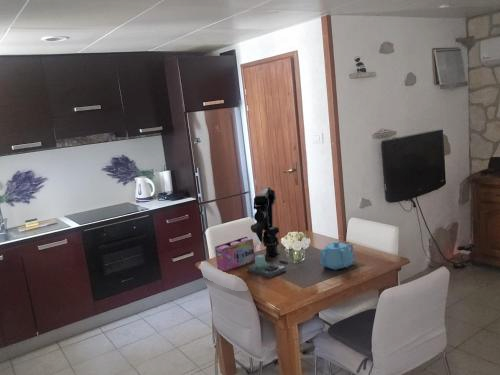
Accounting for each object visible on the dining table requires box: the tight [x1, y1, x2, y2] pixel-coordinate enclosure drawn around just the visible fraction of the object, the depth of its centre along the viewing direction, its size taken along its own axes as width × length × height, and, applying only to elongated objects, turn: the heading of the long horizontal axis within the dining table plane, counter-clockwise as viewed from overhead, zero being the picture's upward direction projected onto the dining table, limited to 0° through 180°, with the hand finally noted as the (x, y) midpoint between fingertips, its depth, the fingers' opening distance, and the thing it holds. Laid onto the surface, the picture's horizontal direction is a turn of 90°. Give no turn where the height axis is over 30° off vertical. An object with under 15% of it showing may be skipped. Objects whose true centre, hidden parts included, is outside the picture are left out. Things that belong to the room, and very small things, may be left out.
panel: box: [247, 260, 287, 279], centre depth 242 cm, size 12×18×3 cm, turn 40°
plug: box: [254, 254, 267, 267], centre depth 245 cm, size 4×4×8 cm
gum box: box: [214, 236, 256, 272], centre depth 259 cm, size 24×8×14 cm, turn 127°
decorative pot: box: [319, 241, 355, 271], centre depth 236 cm, size 16×16×14 cm
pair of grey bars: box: [272, 259, 289, 266], centre depth 251 cm, size 7×6×1 cm
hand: (266, 243), depth 253 cm, fingers open, 9 cm apart
